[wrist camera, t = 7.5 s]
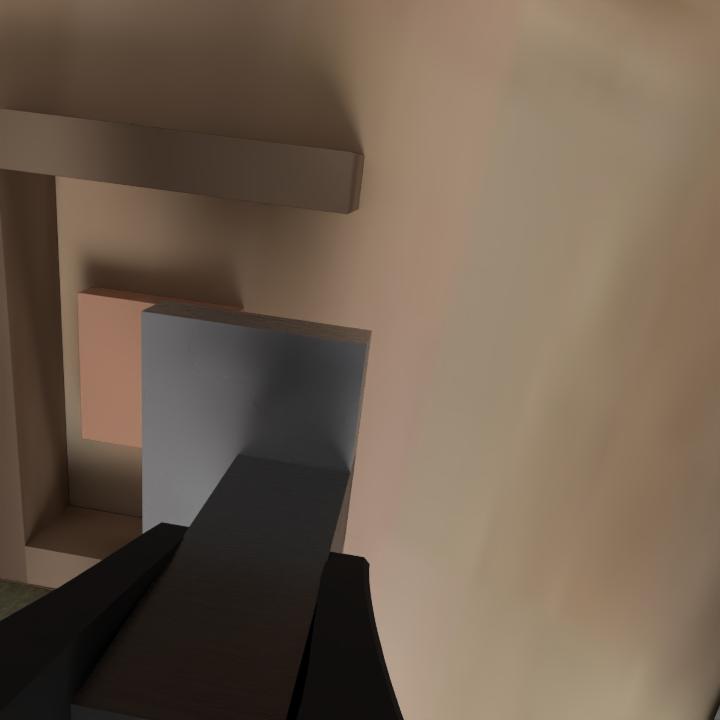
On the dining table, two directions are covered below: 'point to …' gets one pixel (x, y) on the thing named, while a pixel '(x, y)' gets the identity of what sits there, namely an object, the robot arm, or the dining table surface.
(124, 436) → the salmon pink panel
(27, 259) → the frame
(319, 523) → the grey block
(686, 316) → the dining table surface
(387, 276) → the dining table surface
